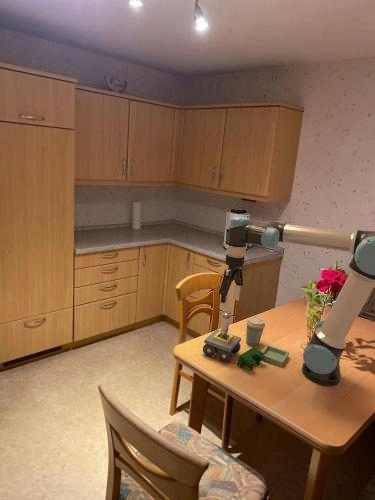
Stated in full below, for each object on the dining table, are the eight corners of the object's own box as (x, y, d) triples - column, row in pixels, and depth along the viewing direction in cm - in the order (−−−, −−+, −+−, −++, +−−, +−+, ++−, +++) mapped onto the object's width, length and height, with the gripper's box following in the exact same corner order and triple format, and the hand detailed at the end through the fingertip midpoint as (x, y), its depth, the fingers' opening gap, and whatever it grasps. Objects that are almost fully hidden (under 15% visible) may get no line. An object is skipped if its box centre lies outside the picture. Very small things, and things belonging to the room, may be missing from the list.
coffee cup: (253, 350, 168) (257, 326, 165) (239, 342, 174) (243, 318, 171) (265, 345, 174) (269, 321, 170) (251, 337, 180) (254, 314, 176)
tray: (288, 357, 165) (289, 352, 165) (282, 367, 157) (283, 362, 156) (265, 349, 170) (266, 344, 169) (258, 359, 161) (259, 354, 161)
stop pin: (229, 338, 161) (233, 313, 158) (225, 342, 157) (229, 316, 154) (220, 335, 163) (224, 310, 160) (216, 339, 159) (220, 313, 156)
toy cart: (239, 353, 164) (242, 335, 162) (229, 365, 154) (232, 347, 152) (213, 343, 170) (215, 326, 168) (201, 354, 160) (203, 336, 158)
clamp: (246, 379, 154) (249, 367, 148) (235, 369, 157) (237, 357, 151) (264, 361, 160) (267, 349, 154) (253, 352, 163) (255, 340, 157)
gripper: (238, 247, 161) (232, 293, 167) (213, 259, 140) (208, 311, 145) (254, 251, 158) (248, 297, 163) (232, 264, 137) (225, 317, 142)
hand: (229, 304), depth 154 cm, fingers open, 13 cm apart
